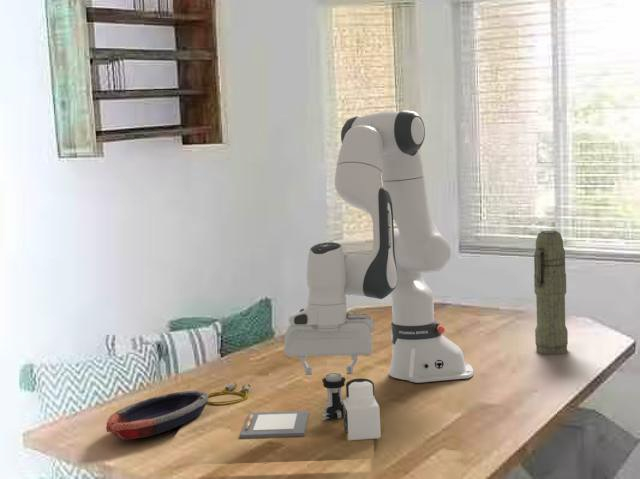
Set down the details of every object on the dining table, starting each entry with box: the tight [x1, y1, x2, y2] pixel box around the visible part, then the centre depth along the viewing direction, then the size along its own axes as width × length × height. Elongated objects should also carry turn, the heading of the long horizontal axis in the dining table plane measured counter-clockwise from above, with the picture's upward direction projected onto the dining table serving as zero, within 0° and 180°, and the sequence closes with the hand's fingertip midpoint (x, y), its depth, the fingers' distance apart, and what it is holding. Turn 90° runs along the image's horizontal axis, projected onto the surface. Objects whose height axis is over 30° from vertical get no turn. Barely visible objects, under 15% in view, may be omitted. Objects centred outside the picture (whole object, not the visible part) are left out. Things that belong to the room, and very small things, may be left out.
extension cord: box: [206, 381, 251, 406], centre depth 228 cm, size 12×16×2 cm
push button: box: [321, 372, 346, 421], centre depth 206 cm, size 7×5×10 cm
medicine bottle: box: [342, 378, 382, 441], centre depth 193 cm, size 7×7×12 cm
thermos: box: [533, 230, 569, 356], centre depth 255 cm, size 9×12×35 cm
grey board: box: [239, 410, 309, 439], centre depth 203 cm, size 14×16×1 cm
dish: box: [105, 390, 209, 440], centre depth 208 cm, size 16×31×5 cm, turn 144°
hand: (329, 374), depth 205 cm, fingers open, 8 cm apart
